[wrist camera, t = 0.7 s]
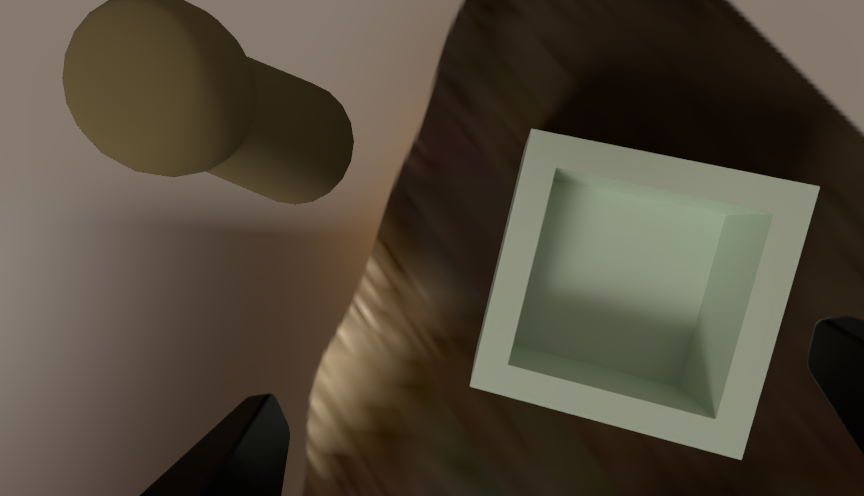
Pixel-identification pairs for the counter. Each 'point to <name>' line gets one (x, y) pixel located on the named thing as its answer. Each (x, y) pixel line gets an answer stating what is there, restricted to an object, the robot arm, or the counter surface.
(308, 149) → the cork
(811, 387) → the counter surface
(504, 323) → the end cap socket
